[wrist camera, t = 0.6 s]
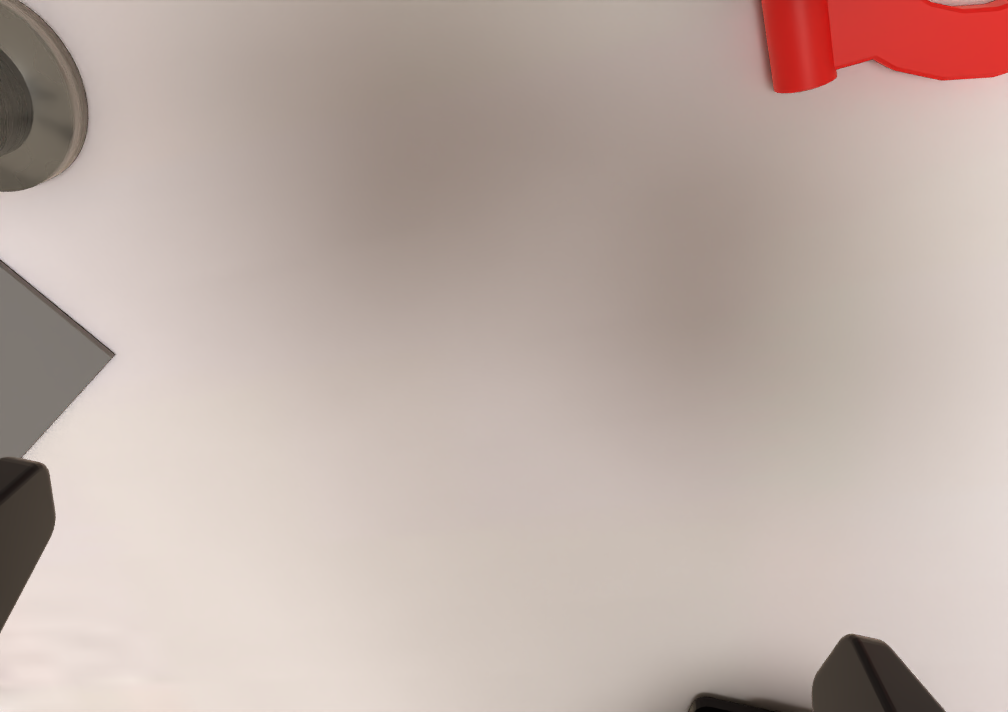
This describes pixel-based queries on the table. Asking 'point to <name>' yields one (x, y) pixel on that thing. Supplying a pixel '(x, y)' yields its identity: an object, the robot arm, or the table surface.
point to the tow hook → (883, 39)
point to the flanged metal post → (36, 101)
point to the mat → (38, 363)
